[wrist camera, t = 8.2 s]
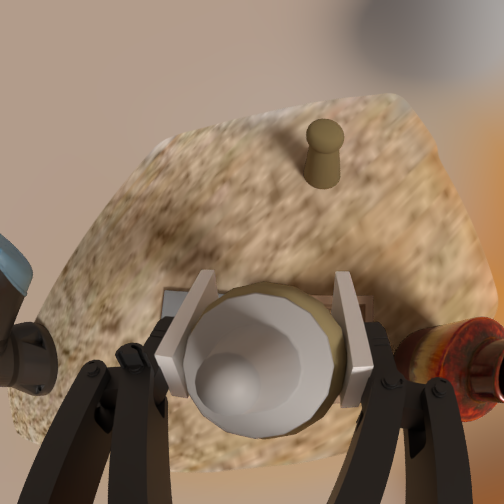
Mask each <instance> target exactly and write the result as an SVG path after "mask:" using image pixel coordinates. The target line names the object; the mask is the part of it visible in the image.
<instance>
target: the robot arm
mask: <svg viewBox="0 0 504 504" xmlns="http://www.w3.org/2000/svg"><path fill="white" fill-rule="evenodd" d="M32 276H33V271H32V268H31V265H30V264H29V262H28V261H27V259H26V258H25V257H24V256H23V254H22V253H21V252H20V251H19V250H18V249H17V248H16V247H15V246H14V245H13V244H12V243H11V242H10V241H8V240H7V239H6V238H5V237H4V236H3V235H1V234H0V387H13V388H15V389H17V390H20V391H22V392H25V393H27V394H30V395H33V396H44V395H47V394H48V393H50V392H51V390H52V389H53V387H54V385H55V382H56V378H57V371H58V362H57V354H56V349H55V345H54V343H53V340H52V338H51V336H50V334H49V332H48V331H47V330H46V329H45V328H44V327H43V326H42V325H40V324H37V323H33V322H24V323H20V324H15V325H14V322H15V319H16V316H17V314H18V312H19V309H20V307H21V304H22V302H23V300H24V297H25V296H27V290H28V287H29V285H30V283H31V280H32ZM218 298H219V296H218V290H217V283H216V276H215V270H201V271H200V273H199V275H198V276H197V278H196V280H195V282H194V284H193V285H192V287H191V289H190V291H189V292H188V294H187V296H186V298H185V299H184V301H183V303H182V305H181V307H180V308H179V310H178V312H177V314H176V316H175V317H171V316H165V317H163V318H162V319H161V320H160V321H158V322H157V324H156V326H155V327H154V329H153V331H152V332H151V334H150V337H149V338H148V339H147V341H146V343H145V344H144V346H142V345H141V344H138V343H128V344H125V345H123V346H121V347H120V348H119V349H118V350H117V351H116V354H115V356H116V358H117V360H118V362H119V364H120V366H121V367H107V366H106V365H105V363H104V362H103V361H100V360H92V361H89V362H87V363H86V364H85V365H84V366H83V367H82V368H81V370H80V372H79V373H78V375H77V377H76V379H75V380H74V382H73V384H72V386H71V388H70V389H69V391H68V393H67V395H66V397H65V399H64V401H63V402H62V404H61V406H60V408H59V410H58V412H57V414H56V416H55V418H54V420H53V422H52V424H51V426H50V428H49V430H48V432H47V434H46V436H45V438H44V440H43V442H42V444H41V447H40V449H39V451H38V453H37V456H36V458H35V460H34V462H33V465H32V467H31V469H30V472H29V474H28V477H27V479H26V482H25V484H24V487H23V489H22V492H21V494H20V497H19V500H18V503H17V504H93V502H94V498H95V495H96V492H97V489H98V486H99V483H100V480H101V477H102V474H103V471H104V468H105V465H106V462H107V459H108V456H109V453H110V465H109V483H108V504H172V496H171V482H170V466H169V444H168V401H167V397H166V393H167V391H168V389H169V390H170V392H171V395H172V396H178V397H183V398H188V396H189V394H188V392H187V387H186V382H185V377H184V371H183V366H182V364H183V359H184V354H185V349H186V344H187V340H188V337H189V335H190V333H191V330H192V328H193V327H194V325H195V324H196V322H197V321H198V319H199V318H200V317H201V315H202V314H203V312H204V311H205V309H206V308H207V306H208V305H210V304H211V303H212V302H214V301H215V300H217V299H218ZM331 315H332V316H333V318H334V319H335V320H336V322H337V323H338V325H339V326H340V327H341V329H342V334H343V338H344V342H345V347H346V351H347V366H346V373H345V378H344V383H343V388H342V391H341V393H340V404H341V408H349V407H358V406H359V404H360V401H361V404H362V410H361V413H360V415H359V417H358V419H357V422H356V423H357V425H356V428H355V431H354V435H353V438H352V441H351V444H350V446H349V449H348V452H347V455H346V458H345V461H344V464H343V466H342V468H341V471H340V473H339V476H338V478H337V481H336V483H335V486H334V488H333V490H332V493H331V495H330V497H329V500H328V502H327V504H380V502H381V499H382V496H383V493H384V490H385V487H386V484H387V480H388V477H389V473H390V469H391V466H392V462H393V458H394V454H395V449H396V444H397V440H398V435H399V430H400V428H403V431H404V444H405V464H406V465H405V466H406V504H473V499H472V485H471V475H470V467H469V459H468V452H467V446H466V440H465V435H464V430H463V425H462V420H461V416H460V411H459V407H458V403H457V399H456V395H455V391H454V388H453V386H452V384H451V383H450V382H449V381H448V380H447V379H444V378H442V377H435V378H431V379H430V380H429V381H427V383H426V384H422V383H415V382H411V381H408V380H406V379H405V377H404V375H403V374H401V373H400V372H399V371H398V370H397V367H396V364H395V360H394V357H393V353H392V350H391V346H390V343H389V340H388V337H387V334H386V331H385V328H384V327H383V326H382V325H381V324H380V323H379V322H363V319H362V315H361V311H360V307H359V303H358V300H357V296H356V293H355V289H354V286H353V282H352V279H351V275H350V272H349V271H335V281H334V291H333V300H332V309H331ZM110 451H111V452H110Z"/></svg>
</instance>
